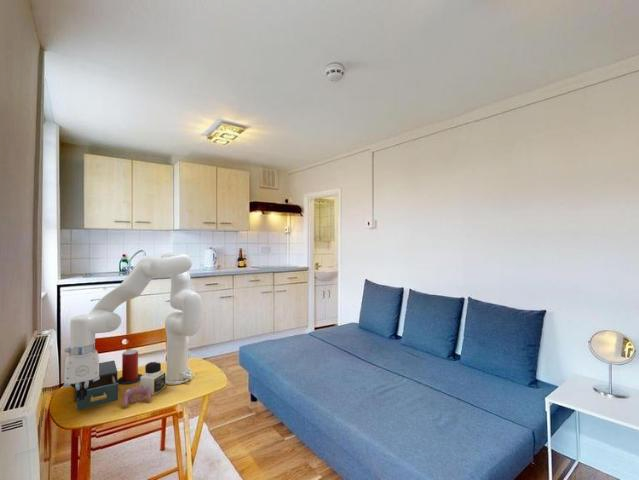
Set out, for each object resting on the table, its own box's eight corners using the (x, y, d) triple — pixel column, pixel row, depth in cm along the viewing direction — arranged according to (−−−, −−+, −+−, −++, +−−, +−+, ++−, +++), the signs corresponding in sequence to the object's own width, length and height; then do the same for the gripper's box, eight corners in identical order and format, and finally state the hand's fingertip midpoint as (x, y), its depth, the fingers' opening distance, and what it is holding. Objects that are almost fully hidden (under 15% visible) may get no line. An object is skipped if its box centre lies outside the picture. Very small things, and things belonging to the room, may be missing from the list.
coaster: (148, 376, 153) (148, 375, 153) (129, 386, 143) (129, 385, 143) (131, 373, 156) (131, 372, 156) (111, 382, 146) (111, 381, 146)
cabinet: (117, 391, 138) (117, 371, 138) (74, 401, 129) (75, 380, 129) (114, 378, 151) (114, 360, 151) (75, 386, 142) (75, 367, 142)
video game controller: (150, 401, 133) (149, 384, 136) (151, 401, 130) (150, 383, 132) (122, 408, 128) (122, 389, 130) (122, 408, 124) (122, 388, 127)
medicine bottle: (154, 395, 136) (154, 367, 135) (139, 393, 137) (140, 365, 137) (165, 387, 143) (165, 360, 142) (151, 385, 144) (151, 359, 144)
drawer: (119, 404, 126) (119, 387, 126) (76, 415, 118) (76, 397, 118) (114, 386, 141) (115, 371, 141) (76, 395, 133) (76, 379, 133)
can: (129, 382, 146) (129, 355, 145) (118, 380, 148) (118, 353, 147) (141, 376, 152) (141, 350, 152) (130, 374, 154) (131, 348, 154)
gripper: (55, 356, 110) (54, 409, 110) (107, 348, 119) (106, 397, 119) (56, 350, 116) (56, 400, 116) (106, 342, 125) (105, 389, 125)
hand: (81, 398), depth 118 cm, fingers closed
